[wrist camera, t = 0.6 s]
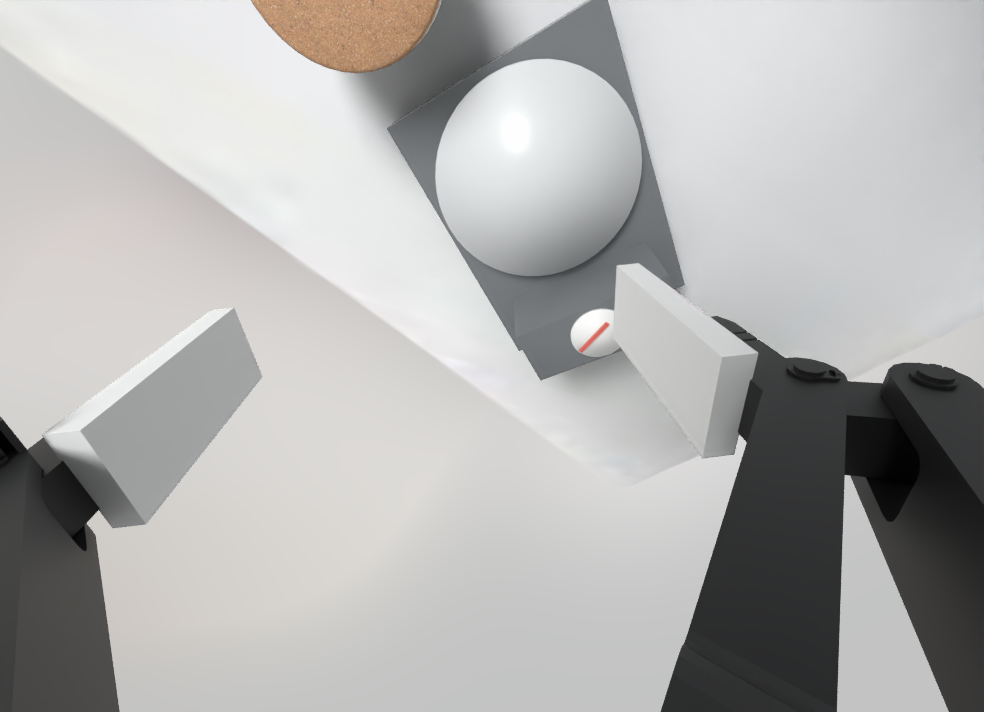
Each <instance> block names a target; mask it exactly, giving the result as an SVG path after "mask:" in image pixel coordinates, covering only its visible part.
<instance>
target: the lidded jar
mask: <svg viewBox="0 0 984 712" xmlns="http://www.w3.org/2000/svg"><path fill="white" fill-rule="evenodd" d="M251 1H252V3H253V4H254V6H255V8H256V9H257V10H258V12H259V13H260V14H261V16H262V17H263V18H264V20H265V21H266V22H267V24H268V25H269V26H270V27H271V28H272V29H273V30H274V31H275V32H276V33H277V34H278V36H279V37H280V38H281V39H282V40H283V41H285V42H286V43H287V44H288V45H289V46H291V47H292V48H293V49H294V50H296V51H297V52H298V53H300V54H301V55H303V56H305V57H306V58H308V59H309V60H311V61H313V62H315V63H317V64H320V65H322V66H324V67H326V68H330V69H334V70H337V71H341V72H351V73H362V72H371V71H376V70H379V69H382V68H385V67H388V66H390V65H392V64H393V63H395V62H397V61H399V60H401V59H402V58H403V57H404V56H406V55H407V54H408V53H409V52H410V51H411V50H413V49H414V48H415V47H416V46H417V45H418V44H419V43H420V41H421V40H422V39H423V38H424V36H425V35H426V34H427V32H428V31H429V29H430V27H431V25H432V24H433V22H434V20H435V18H436V15H437V13H438V10H439V8H440V5H441V1H442V0H251Z"/></svg>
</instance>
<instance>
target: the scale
mask: <svg viewBox="0 0 984 712" xmlns="http://www.w3.org/2000/svg"><path fill="white" fill-rule="evenodd" d="M387 130H388V131H389V133H390V135H391V136H392V138H393V140H394V141H395V143H396V145H397V146H398V148H399V150H400V151H401V153H402V155H403V157H404V158H405V160H406V162H407V163H408V165H409V167H410V168H411V170H412V172H413V173H414V175H415V177H416V178H417V180H418V182H419V183H420V185H421V187H422V188H423V190H424V192H425V194H426V195H427V197H428V199H429V200H430V202H431V204H432V205H433V207H434V209H435V210H436V212H437V214H438V215H439V217H440V219H441V220H442V222H443V224H444V225H445V227H446V229H447V230H448V232H449V234H450V236H451V237H452V239H453V241H454V242H455V244H456V246H457V247H458V249H459V251H460V252H461V254H462V256H463V257H464V259H465V261H466V262H467V264H468V266H469V267H470V269H471V271H472V273H473V274H474V276H475V278H476V279H477V281H478V283H479V284H480V286H481V288H482V289H483V291H484V293H485V294H486V296H487V298H488V299H489V301H490V303H491V304H492V306H493V308H494V309H495V311H496V313H497V315H498V316H499V318H500V320H501V321H502V323H503V325H504V326H505V328H506V330H507V331H508V333H509V335H510V336H511V338H512V340H513V341H514V343H515V345H516V346H517V348H518V350H519V351H520V350H523V351H524V353H525V354H526V356H527V358H528V360H529V361H530V363H531V365H532V366H533V368H534V370H535V372H536V373H537V375H538V377H539V378H540V380H543V379H546V378H548V377H551V376H554V375H557V374H559V373H562V372H565V371H567V370H570V369H573V368H575V367H578V366H581V365H583V364H586V363H589V362H592V361H594V360H597V359H600V358H602V357H605V356H608V355H610V354H613V353H616V352H618V351H621V350H622V349H621V347H620V346H619V345H618V343H617V342H616V341H615V339H614V338H613V326H614V307H615V288H616V268H617V265H626V264H635V263H639V264H640V265H642V266H643V267H644V268H646V269H647V270H648V271H650V272H651V273H652V274H654V275H655V276H656V277H658V278H659V279H660V280H662V281H663V282H664V283H666V284H667V285H668V286H670V287H671V288H672V289H676V288H678V287H681V286H683V285H684V281H683V277H682V274H681V270H680V266H679V263H678V259H677V255H676V251H675V248H674V244H673V240H672V237H671V233H670V229H669V226H668V222H667V218H666V214H665V211H664V207H663V203H662V200H661V196H660V192H659V188H658V185H657V181H656V177H655V174H654V170H653V166H652V163H651V159H650V155H649V151H648V148H647V144H646V140H645V137H644V133H643V129H642V126H641V122H640V118H639V114H638V111H637V107H636V103H635V100H634V96H633V92H632V89H631V85H630V81H629V77H628V74H627V70H626V66H625V63H624V59H623V55H622V52H621V48H620V44H619V40H618V37H617V33H616V29H615V26H614V22H613V18H612V15H611V11H610V7H609V3H608V0H588V1H586V2H584V3H583V4H581V5H580V6H578V7H577V8H575V9H573V10H572V11H570V12H569V13H567V14H565V15H564V16H562V17H561V18H559V19H558V20H556V21H554V22H553V23H551V24H550V25H548V26H546V27H545V28H543V29H542V30H540V31H538V32H537V33H535V34H534V35H532V36H531V37H529V38H527V39H526V40H524V41H523V42H521V43H519V44H518V45H516V46H515V47H513V48H512V49H510V50H508V51H507V52H505V53H504V54H502V55H500V56H499V57H497V58H496V59H494V60H492V61H491V62H489V63H488V64H486V65H485V66H483V67H481V68H480V69H478V70H477V71H475V72H473V73H472V74H470V75H469V76H467V77H466V78H464V79H462V80H461V81H459V82H458V83H456V84H454V85H453V86H451V87H450V88H448V89H446V90H445V91H443V92H442V93H440V94H439V95H437V96H435V97H434V98H432V99H431V100H429V101H427V102H426V103H424V104H423V105H421V106H419V107H418V108H416V109H415V110H413V111H412V112H410V113H408V114H407V115H405V116H404V117H402V118H400V119H399V120H397V121H396V122H394V123H393V124H392V125H391V126H389V127H388V128H387Z"/></svg>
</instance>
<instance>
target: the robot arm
mask: <svg viewBox="0 0 984 712" xmlns="http://www.w3.org/2000/svg"><path fill="white" fill-rule="evenodd" d="M613 338H614V339H615V341H616V342H617V343H618V345H619V346H620V347H621V349H622V350H623V351H624V353H625V354H626V356H627V357H628V358H629V360H630V361H631V362H632V364H633V365H634V366H635V368H636V369H637V370H638V372H639V373H640V374H641V376H642V377H643V379H644V380H645V381H646V383H647V384H648V385H649V387H650V388H651V389H652V391H653V392H654V393H655V395H656V396H657V397H658V399H659V400H660V402H661V403H662V404H663V406H664V407H665V408H666V410H667V411H668V412H669V414H670V415H671V416H672V418H673V419H674V421H675V422H676V423H677V425H678V426H679V427H680V429H681V430H682V431H683V433H684V434H685V435H686V437H687V438H688V439H689V441H690V442H691V444H692V445H693V446H694V448H695V449H696V450H697V452H698V453H699V454H700V456H701V457H702V458H709V457H718V456H726V455H734V453H735V449H736V444H737V440H738V436H739V434H740V435H741V436H742V437H743V438H744V440H745V441H746V442H747V444H746V448H745V451H744V454H743V457H742V461H741V463H740V467H739V470H738V473H737V476H736V480H735V483H734V486H733V489H732V492H731V496H730V499H729V502H728V505H727V509H726V512H725V515H724V519H723V522H722V525H721V528H720V531H719V534H718V538H717V541H716V544H715V548H714V550H713V554H712V557H711V560H710V563H709V567H708V570H707V573H706V576H705V580H704V583H703V586H702V589H701V592H700V596H699V599H698V602H697V605H696V608H695V612H694V615H693V618H692V621H691V624H690V628H689V631H688V634H687V637H686V640H685V643H684V645H683V646H682V648H681V650H680V653H679V656H678V659H677V662H676V665H675V668H674V671H673V675H672V678H671V681H670V684H669V687H668V690H667V693H666V697H665V700H664V703H663V706H662V709H661V712H837V686H838V685H837V684H838V655H839V624H840V596H841V566H842V565H841V564H842V535H843V505H844V475H850V476H851V478H852V480H853V483H854V485H855V488H856V490H857V492H858V495H859V497H860V500H861V502H862V505H863V507H864V509H865V512H866V514H867V516H868V519H869V521H870V524H871V526H872V528H873V531H874V533H875V536H876V538H877V541H878V543H879V545H880V548H881V550H882V552H883V555H884V557H885V560H886V562H887V564H888V567H889V569H890V572H891V574H892V576H893V579H894V581H895V583H896V586H897V588H898V591H899V593H900V596H901V598H902V600H903V603H904V605H905V607H906V610H907V612H908V615H909V617H910V620H911V622H912V624H913V627H914V629H915V632H916V634H917V636H918V639H919V641H920V643H921V646H922V648H923V651H924V653H925V655H926V658H927V660H928V662H929V665H930V667H931V670H932V672H933V675H934V677H935V679H936V682H937V684H938V687H939V689H940V691H941V694H942V696H943V698H944V701H945V703H946V706H947V708H948V711H949V712H984V388H982V386H980V385H979V384H978V383H977V382H975V381H974V380H972V379H971V378H970V377H968V376H965V375H963V374H961V373H958V372H956V371H955V370H953V369H950V368H948V367H942V366H940V365H936V364H922V363H901V364H896V365H893V366H892V367H891V368H890V369H889V370H888V373H887V375H886V377H885V380H884V382H883V384H882V383H865V382H864V383H863V382H850V381H847V378H846V376H845V374H843V373H842V372H841V371H840V370H838V369H837V368H835V367H833V366H830V365H828V364H826V363H823V362H819V361H816V360H812V359H805V358H784V357H783V356H781V355H780V354H778V353H777V352H776V351H774V350H773V349H771V348H770V347H768V346H767V345H766V344H764V343H763V342H761V341H760V340H757V338H756V337H754V336H753V335H751V334H750V333H747V331H746V330H744V329H743V328H742V327H740V326H739V325H737V324H736V323H734V322H732V321H729V320H726V319H724V318H721V317H718V316H714V317H710V316H709V315H707V314H706V313H705V312H703V311H702V310H701V309H699V308H698V307H696V306H695V305H694V304H692V303H691V302H690V301H688V300H687V299H686V298H684V297H683V296H682V295H680V294H679V293H678V292H676V291H675V290H674V289H672V288H671V287H670V286H668V285H667V284H666V283H664V282H663V281H662V280H660V279H659V278H658V277H656V276H655V275H654V274H652V273H651V272H650V271H648V270H647V269H646V268H644V267H643V266H642V265H640V264H639V263H635V264H626V265H617V268H616V288H615V307H614V326H613ZM261 378H262V375H261V372H260V369H259V367H258V365H257V362H256V360H255V357H254V355H253V353H252V350H251V348H250V345H249V343H248V340H247V338H246V335H245V333H244V331H243V328H242V326H241V323H240V321H239V319H238V316H237V314H236V311H235V309H234V308H225V309H216V310H211V311H210V312H208V313H207V314H205V315H204V316H203V317H201V318H200V319H199V320H197V321H196V322H194V323H193V324H192V325H191V326H189V327H188V328H186V329H185V330H184V331H182V332H181V333H179V334H178V335H177V336H175V337H174V338H173V339H171V340H170V341H169V342H167V343H166V344H164V345H163V346H162V347H160V348H159V349H158V350H156V351H155V352H154V353H152V354H151V355H150V356H148V357H147V358H145V359H144V360H143V361H141V362H140V363H139V364H138V365H136V366H135V367H133V368H132V369H131V370H129V371H128V372H126V373H125V374H124V375H122V376H121V377H120V378H118V379H117V380H116V381H114V382H113V383H111V384H110V385H109V386H107V387H106V388H105V389H103V390H102V391H101V392H99V393H98V394H97V395H95V396H94V397H93V398H91V399H90V400H88V401H87V402H86V403H84V404H83V405H82V406H80V407H79V408H77V409H76V410H75V411H73V412H72V413H71V414H69V415H68V416H67V417H65V418H64V419H63V420H61V421H60V422H58V423H57V424H56V425H54V426H53V427H52V428H50V429H49V430H48V431H46V432H45V433H43V434H42V436H43V438H42V439H41V440H40V441H38V442H37V443H36V444H34V445H33V446H32V447H30V448H29V449H28V450H27V449H26V448H25V447H24V446H23V444H22V443H21V442H20V440H19V439H18V438H17V437H16V435H15V434H14V433H13V432H12V430H11V429H10V428H9V427H8V425H7V424H6V423H5V422H4V420H3V419H2V418H1V417H0V712H119V705H118V698H117V691H116V683H115V676H114V668H113V661H112V654H111V646H110V639H109V632H108V624H107V617H106V610H105V602H104V595H103V588H102V580H101V573H100V566H99V558H98V551H97V544H96V536H95V534H94V533H93V531H92V530H91V529H90V527H89V526H88V525H87V524H86V523H87V522H88V521H89V520H90V518H91V517H92V516H93V515H94V514H95V513H96V512H97V511H98V510H99V511H100V512H101V513H102V515H103V516H104V517H105V519H106V520H107V521H108V523H109V524H110V525H111V527H112V528H119V527H127V526H135V525H144V524H147V522H148V521H149V520H150V519H151V517H152V516H153V515H154V514H155V512H156V511H157V510H158V508H159V507H160V506H161V505H162V503H163V502H164V501H165V500H166V498H167V497H168V496H169V494H170V493H171V492H172V491H173V489H174V488H175V487H176V486H177V484H178V483H179V482H180V481H181V479H182V478H183V476H184V475H185V474H186V472H188V470H189V469H190V468H191V467H192V465H193V464H194V463H195V461H196V460H197V459H198V458H199V457H200V455H201V454H202V453H203V451H204V450H205V449H206V448H207V446H208V445H209V444H210V443H211V441H212V440H213V439H214V437H215V436H216V435H217V433H218V432H219V431H220V430H221V429H222V427H223V426H224V425H225V424H226V422H227V421H228V420H229V418H230V417H231V416H232V415H233V413H234V412H235V411H236V410H237V408H238V407H239V406H240V405H241V403H242V402H243V401H244V399H245V398H246V397H247V396H248V394H249V393H250V392H251V390H252V389H253V388H254V387H255V386H256V384H257V383H258V382H259V380H260V379H261Z"/></svg>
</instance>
